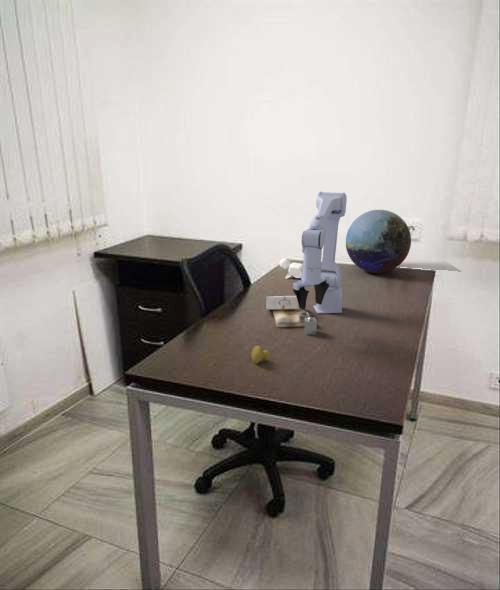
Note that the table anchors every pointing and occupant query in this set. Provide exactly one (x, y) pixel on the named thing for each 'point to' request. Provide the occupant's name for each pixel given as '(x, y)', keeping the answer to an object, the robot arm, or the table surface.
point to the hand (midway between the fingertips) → (310, 306)
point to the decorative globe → (378, 241)
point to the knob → (259, 354)
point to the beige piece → (290, 317)
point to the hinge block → (310, 326)
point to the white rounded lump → (292, 268)
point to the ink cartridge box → (282, 302)
